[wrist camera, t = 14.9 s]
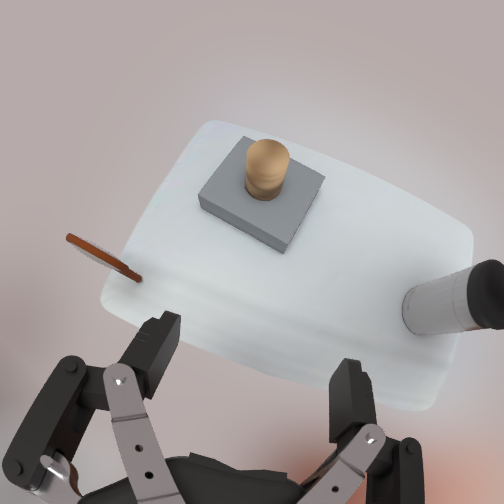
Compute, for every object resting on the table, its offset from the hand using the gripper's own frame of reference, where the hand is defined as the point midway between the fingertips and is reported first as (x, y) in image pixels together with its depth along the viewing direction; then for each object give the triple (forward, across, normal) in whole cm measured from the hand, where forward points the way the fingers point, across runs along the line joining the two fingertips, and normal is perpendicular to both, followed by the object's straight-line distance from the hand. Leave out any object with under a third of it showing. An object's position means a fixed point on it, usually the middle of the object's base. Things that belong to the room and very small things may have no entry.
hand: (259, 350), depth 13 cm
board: (+38, +4, +5) cm, 39 cm away
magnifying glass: (+24, +19, +19) cm, 37 cm away
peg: (+38, +4, +5) cm, 39 cm away
